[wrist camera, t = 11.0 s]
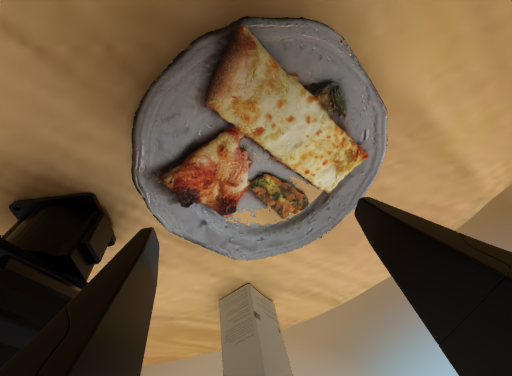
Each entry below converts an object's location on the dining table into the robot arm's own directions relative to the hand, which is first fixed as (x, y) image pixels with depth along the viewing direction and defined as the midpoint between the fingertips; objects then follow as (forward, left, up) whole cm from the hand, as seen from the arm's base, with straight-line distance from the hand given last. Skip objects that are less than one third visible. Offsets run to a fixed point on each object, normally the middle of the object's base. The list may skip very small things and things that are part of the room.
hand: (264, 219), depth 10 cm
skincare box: (+1, -28, -13) cm, 31 cm away
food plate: (+4, -4, -14) cm, 15 cm away
